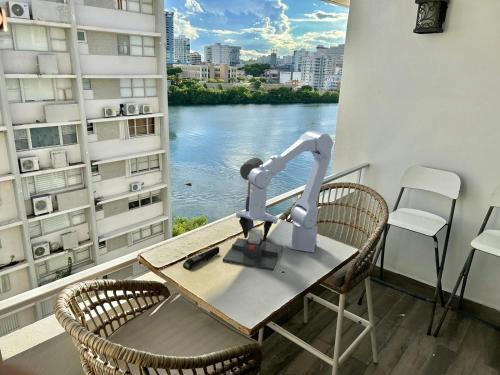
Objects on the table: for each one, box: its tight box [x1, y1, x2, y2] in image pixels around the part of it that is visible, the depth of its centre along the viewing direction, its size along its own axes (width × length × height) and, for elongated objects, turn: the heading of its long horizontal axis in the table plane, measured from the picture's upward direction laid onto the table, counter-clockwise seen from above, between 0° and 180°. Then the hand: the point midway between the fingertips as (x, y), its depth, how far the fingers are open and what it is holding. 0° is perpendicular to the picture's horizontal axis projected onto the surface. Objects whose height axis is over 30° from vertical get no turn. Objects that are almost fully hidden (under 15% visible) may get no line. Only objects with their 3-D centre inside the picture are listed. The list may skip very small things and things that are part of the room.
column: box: [248, 227, 264, 246], centre depth 129 cm, size 4×4×8 cm
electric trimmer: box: [182, 246, 220, 271], centre depth 124 cm, size 4×16×3 cm, turn 141°
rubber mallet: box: [239, 157, 264, 231], centre depth 147 cm, size 12×8×30 cm, turn 164°
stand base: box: [222, 236, 284, 272], centre depth 130 cm, size 18×18×5 cm
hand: (255, 238), depth 128 cm, fingers open, 6 cm apart
